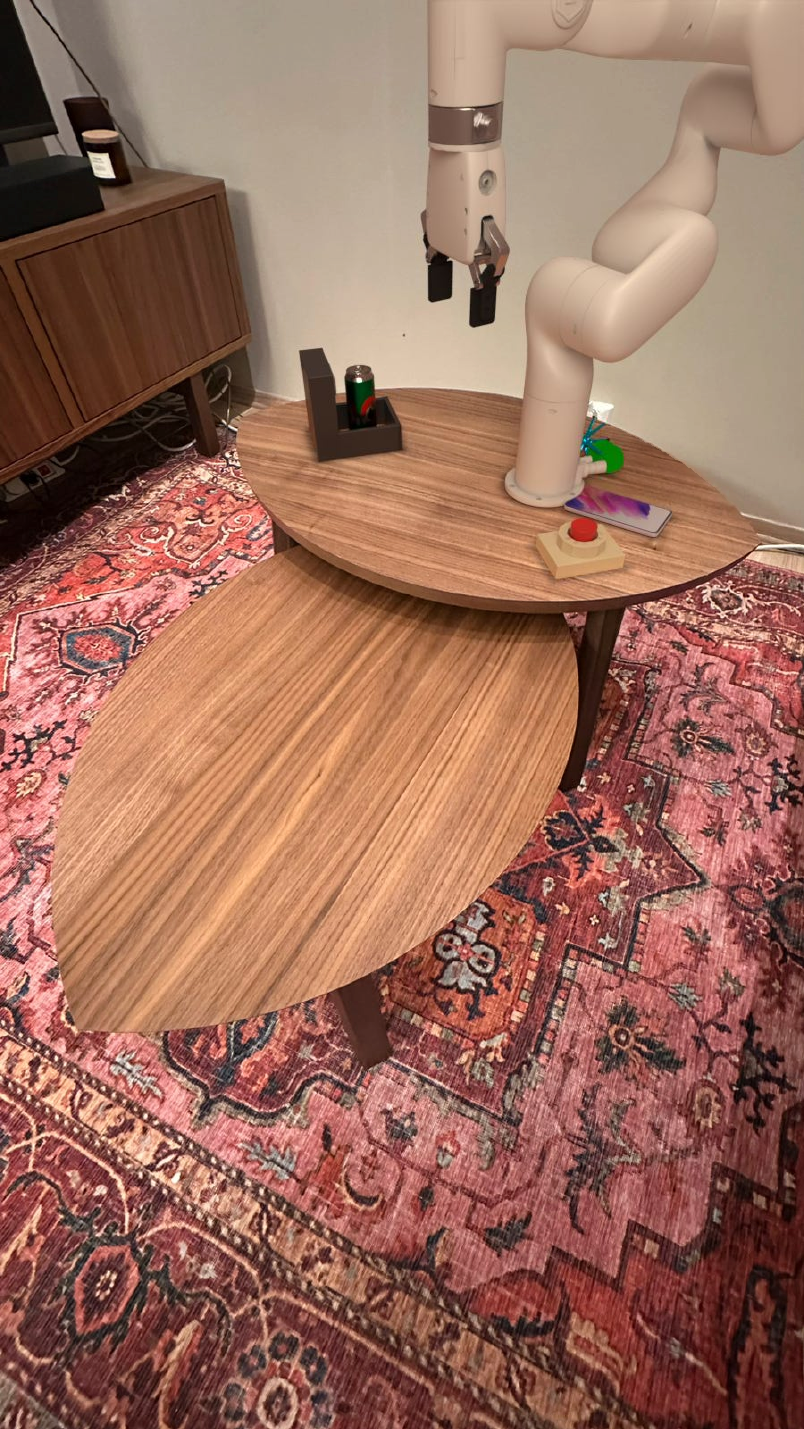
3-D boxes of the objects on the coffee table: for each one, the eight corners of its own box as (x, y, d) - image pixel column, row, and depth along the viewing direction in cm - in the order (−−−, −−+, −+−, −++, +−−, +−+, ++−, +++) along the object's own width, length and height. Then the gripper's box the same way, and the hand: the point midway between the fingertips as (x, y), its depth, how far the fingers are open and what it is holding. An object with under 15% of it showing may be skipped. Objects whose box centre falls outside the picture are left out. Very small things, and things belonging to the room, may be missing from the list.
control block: (599, 536, 101) (604, 512, 98) (622, 568, 96) (629, 543, 93) (534, 546, 100) (538, 522, 97) (555, 579, 94) (559, 555, 91)
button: (589, 526, 96) (591, 515, 95) (599, 541, 94) (602, 530, 93) (565, 530, 96) (566, 519, 95) (575, 545, 94) (577, 534, 92)
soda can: (379, 432, 124) (375, 363, 115) (375, 446, 121) (371, 376, 112) (351, 432, 125) (345, 363, 116) (347, 445, 121) (341, 376, 112)
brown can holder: (388, 420, 127) (384, 340, 117) (402, 450, 120) (399, 366, 109) (309, 431, 125) (298, 350, 115) (318, 461, 118) (308, 378, 107)
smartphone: (657, 535, 99) (562, 505, 105) (655, 540, 100) (561, 510, 106) (674, 510, 103) (582, 483, 109) (673, 515, 104) (581, 488, 109)
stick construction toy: (548, 446, 114) (578, 403, 111) (558, 453, 121) (587, 412, 117) (604, 488, 112) (636, 445, 108) (611, 493, 118) (642, 452, 114)
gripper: (545, 134, 65) (527, 328, 78) (453, 111, 76) (450, 286, 88) (478, 144, 63) (470, 342, 76) (393, 119, 73) (399, 297, 86)
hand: (460, 312), depth 82 cm, fingers open, 9 cm apart
